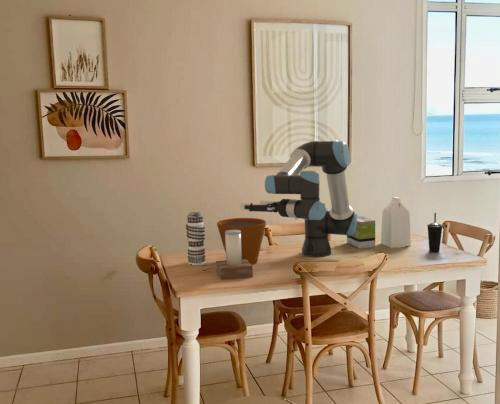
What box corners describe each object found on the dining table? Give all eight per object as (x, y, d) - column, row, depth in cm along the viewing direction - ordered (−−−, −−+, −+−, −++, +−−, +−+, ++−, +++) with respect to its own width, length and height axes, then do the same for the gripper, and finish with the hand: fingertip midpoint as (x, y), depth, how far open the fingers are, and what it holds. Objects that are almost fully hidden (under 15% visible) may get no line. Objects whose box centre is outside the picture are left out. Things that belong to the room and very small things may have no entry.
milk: (410, 246, 300) (411, 198, 296) (391, 247, 297) (391, 199, 293) (399, 241, 311) (400, 195, 308) (380, 243, 309) (381, 196, 305)
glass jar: (224, 262, 255) (223, 230, 253) (240, 261, 256) (239, 229, 254) (227, 266, 248) (226, 233, 246) (243, 264, 249) (242, 232, 247)
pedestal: (216, 271, 258) (216, 261, 258) (246, 269, 261) (246, 258, 261) (221, 279, 245) (221, 268, 244) (252, 277, 248) (252, 266, 247)
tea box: (346, 243, 311) (346, 217, 309) (362, 241, 314) (362, 215, 312) (359, 248, 297) (359, 221, 295) (376, 247, 300) (376, 219, 298)
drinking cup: (445, 252, 284) (446, 213, 281) (433, 254, 281) (434, 214, 278) (435, 249, 291) (436, 211, 288) (423, 250, 288) (424, 212, 285)
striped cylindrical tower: (185, 261, 278) (183, 212, 275) (203, 259, 281) (201, 210, 278) (190, 266, 270) (187, 214, 266) (208, 264, 273) (206, 213, 269)
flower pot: (276, 261, 275) (276, 221, 272) (241, 271, 258) (240, 228, 256) (243, 254, 292) (242, 216, 289) (208, 262, 275) (207, 222, 272)
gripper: (271, 220, 221) (231, 216, 234) (307, 214, 240) (268, 211, 253) (271, 201, 220) (231, 198, 234) (307, 197, 239) (268, 194, 253)
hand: (250, 205), depth 243 cm, fingers open, 13 cm apart
